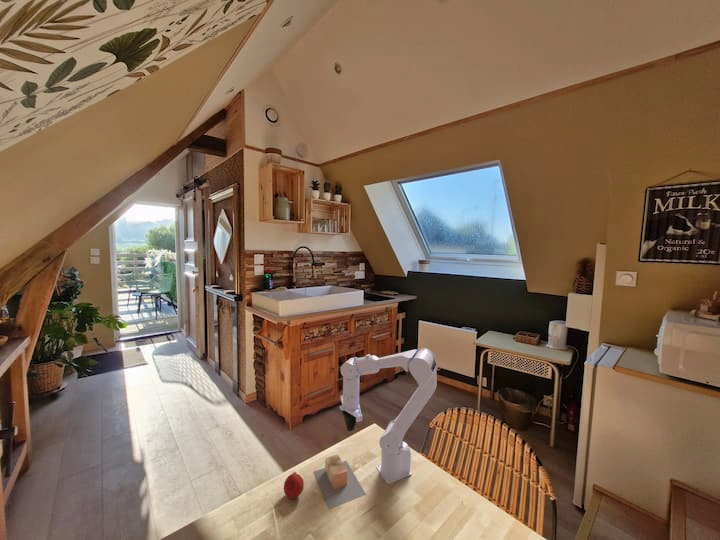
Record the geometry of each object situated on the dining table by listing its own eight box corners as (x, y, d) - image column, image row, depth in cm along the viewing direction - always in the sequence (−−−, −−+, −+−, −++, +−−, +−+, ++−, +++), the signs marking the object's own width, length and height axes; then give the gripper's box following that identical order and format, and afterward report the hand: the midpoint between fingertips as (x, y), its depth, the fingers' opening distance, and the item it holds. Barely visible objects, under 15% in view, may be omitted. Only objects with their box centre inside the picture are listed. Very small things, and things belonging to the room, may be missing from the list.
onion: (298, 507, 83) (298, 482, 83) (280, 503, 85) (280, 478, 84) (306, 491, 89) (306, 466, 88) (289, 487, 90) (289, 463, 90)
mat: (346, 461, 101) (346, 460, 101) (366, 495, 88) (366, 494, 88) (313, 472, 96) (313, 471, 96) (328, 510, 83) (328, 509, 83)
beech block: (347, 484, 92) (337, 466, 99) (347, 470, 91) (337, 454, 98) (333, 489, 90) (325, 470, 97) (334, 475, 89) (325, 458, 96)
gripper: (333, 385, 106) (332, 421, 107) (349, 406, 93) (348, 445, 94) (350, 382, 109) (349, 416, 111) (368, 401, 96) (367, 439, 98)
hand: (350, 429), depth 103 cm, fingers closed
